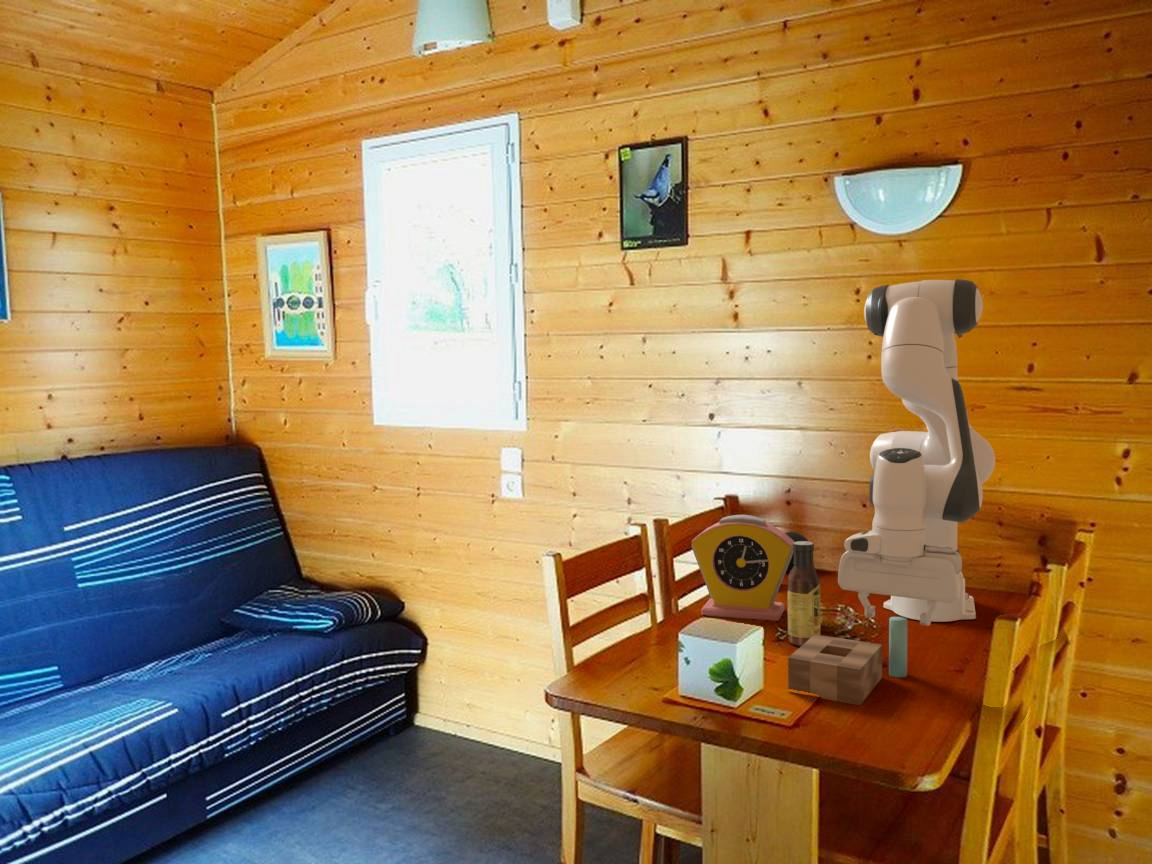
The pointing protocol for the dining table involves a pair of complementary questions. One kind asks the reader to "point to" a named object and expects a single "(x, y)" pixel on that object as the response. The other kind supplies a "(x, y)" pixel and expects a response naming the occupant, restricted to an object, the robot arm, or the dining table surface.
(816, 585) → the sauce bottle
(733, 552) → the yellow mantel clock
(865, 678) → the hole block
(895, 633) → the peg
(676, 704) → the dining table surface
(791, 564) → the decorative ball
